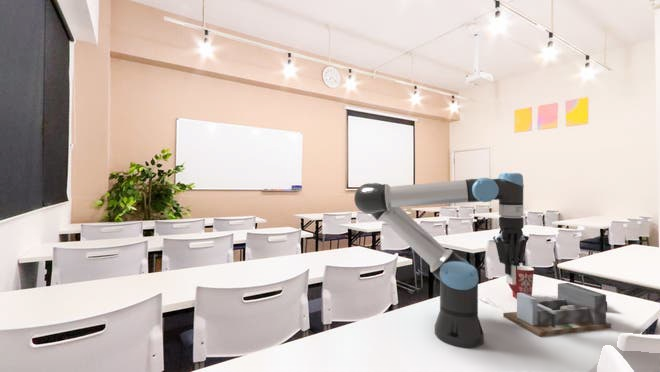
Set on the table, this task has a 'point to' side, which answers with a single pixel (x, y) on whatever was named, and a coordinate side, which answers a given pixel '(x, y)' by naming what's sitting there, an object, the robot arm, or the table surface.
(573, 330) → the grey block structure
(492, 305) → the stylus pen
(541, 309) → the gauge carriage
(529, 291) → the mug
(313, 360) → the table surface
